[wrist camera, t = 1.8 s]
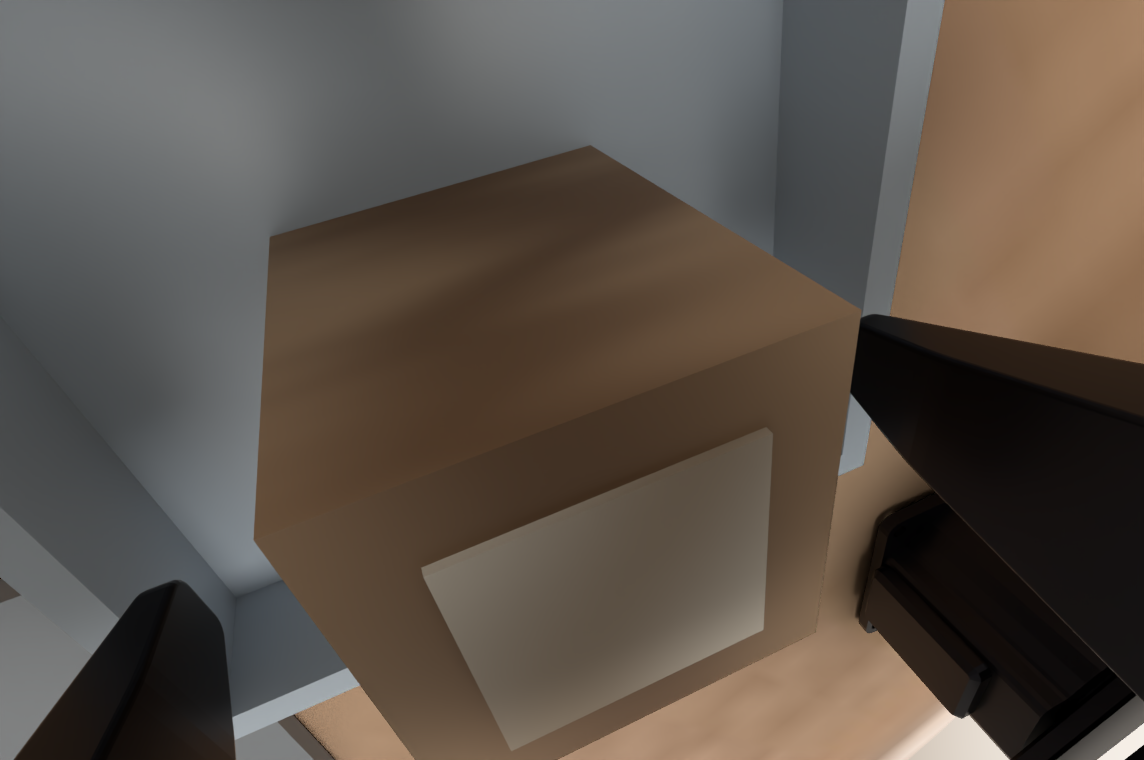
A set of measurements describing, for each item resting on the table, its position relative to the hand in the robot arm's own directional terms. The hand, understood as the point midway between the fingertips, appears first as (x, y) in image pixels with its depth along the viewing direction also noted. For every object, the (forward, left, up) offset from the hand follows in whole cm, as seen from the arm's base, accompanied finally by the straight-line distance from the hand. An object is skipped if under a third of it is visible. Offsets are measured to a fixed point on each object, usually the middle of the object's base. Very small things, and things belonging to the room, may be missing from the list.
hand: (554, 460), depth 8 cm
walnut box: (0, 0, -4) cm, 4 cm away
